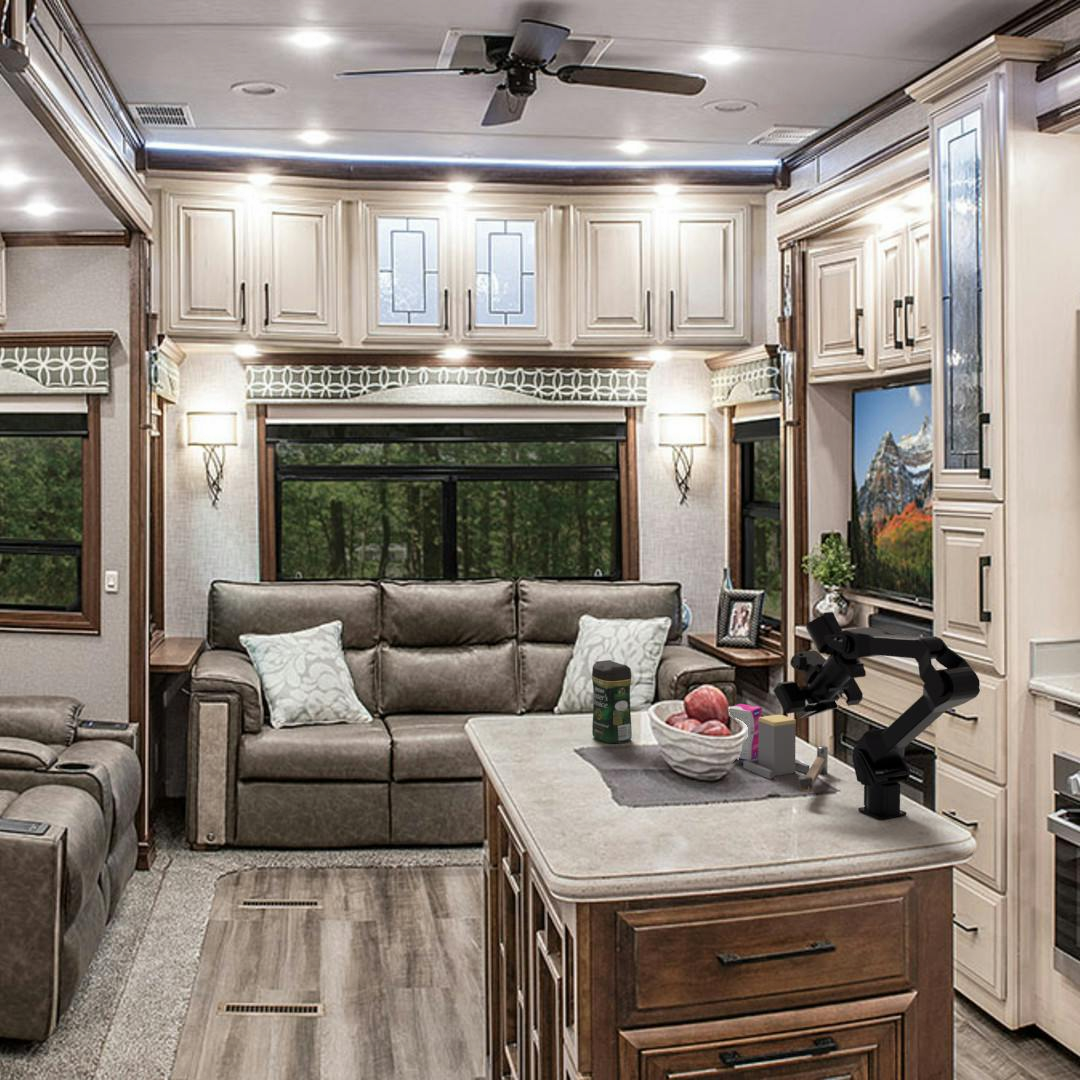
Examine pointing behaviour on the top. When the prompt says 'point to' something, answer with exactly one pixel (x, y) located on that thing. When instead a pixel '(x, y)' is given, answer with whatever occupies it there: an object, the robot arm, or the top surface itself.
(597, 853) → the top surface
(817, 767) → the bar
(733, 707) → the supplement box
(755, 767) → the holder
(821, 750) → the hinge post
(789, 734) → the plug block
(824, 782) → the top surface
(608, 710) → the coffee jar
